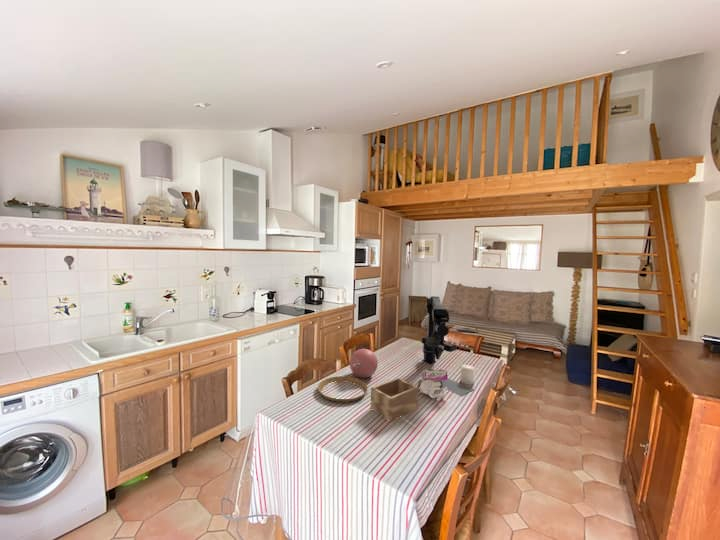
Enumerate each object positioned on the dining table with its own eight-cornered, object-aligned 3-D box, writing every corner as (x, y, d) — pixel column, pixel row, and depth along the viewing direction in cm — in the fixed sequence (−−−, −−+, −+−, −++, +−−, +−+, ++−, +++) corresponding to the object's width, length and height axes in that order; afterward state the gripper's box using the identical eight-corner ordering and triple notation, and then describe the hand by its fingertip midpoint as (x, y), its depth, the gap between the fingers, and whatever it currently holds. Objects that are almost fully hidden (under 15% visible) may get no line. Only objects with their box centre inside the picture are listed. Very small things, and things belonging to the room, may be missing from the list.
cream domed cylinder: (457, 381, 163) (458, 366, 162) (464, 377, 167) (465, 363, 167) (469, 385, 158) (470, 371, 157) (476, 382, 162) (477, 367, 162)
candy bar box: (421, 381, 162) (424, 379, 147) (421, 371, 164) (424, 368, 149) (442, 382, 161) (448, 380, 146) (442, 372, 163) (447, 369, 148)
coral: (415, 381, 147) (434, 374, 151) (415, 393, 149) (434, 385, 153) (429, 397, 136) (450, 388, 141) (430, 409, 138) (450, 400, 143)
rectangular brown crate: (370, 409, 131) (371, 387, 130) (397, 398, 142) (398, 377, 141) (390, 422, 122) (390, 398, 121) (417, 409, 133) (418, 387, 132)
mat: (427, 385, 156) (427, 385, 156) (445, 378, 166) (445, 377, 166) (456, 399, 143) (456, 398, 143) (474, 389, 153) (474, 389, 153)
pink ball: (338, 380, 159) (339, 352, 158) (359, 368, 176) (360, 343, 174) (363, 388, 150) (363, 359, 149) (382, 375, 167) (383, 348, 166)
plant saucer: (374, 388, 152) (374, 382, 152) (354, 411, 130) (354, 403, 130) (333, 378, 162) (333, 372, 162) (307, 398, 140) (308, 391, 140)
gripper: (415, 329, 161) (414, 357, 162) (445, 337, 147) (443, 368, 148) (428, 326, 168) (427, 353, 169) (457, 334, 154) (456, 363, 155)
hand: (437, 359), depth 160 cm, fingers closed
